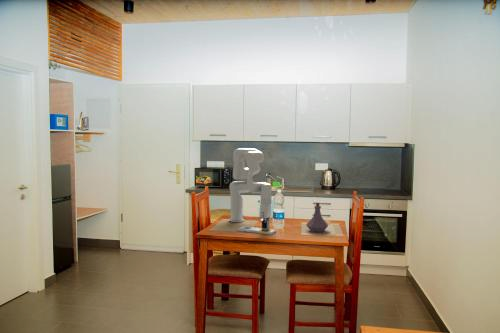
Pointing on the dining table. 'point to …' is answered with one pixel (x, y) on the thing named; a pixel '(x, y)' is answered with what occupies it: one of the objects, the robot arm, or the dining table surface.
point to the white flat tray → (256, 230)
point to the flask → (317, 221)
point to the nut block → (266, 226)
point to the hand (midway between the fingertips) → (265, 227)
